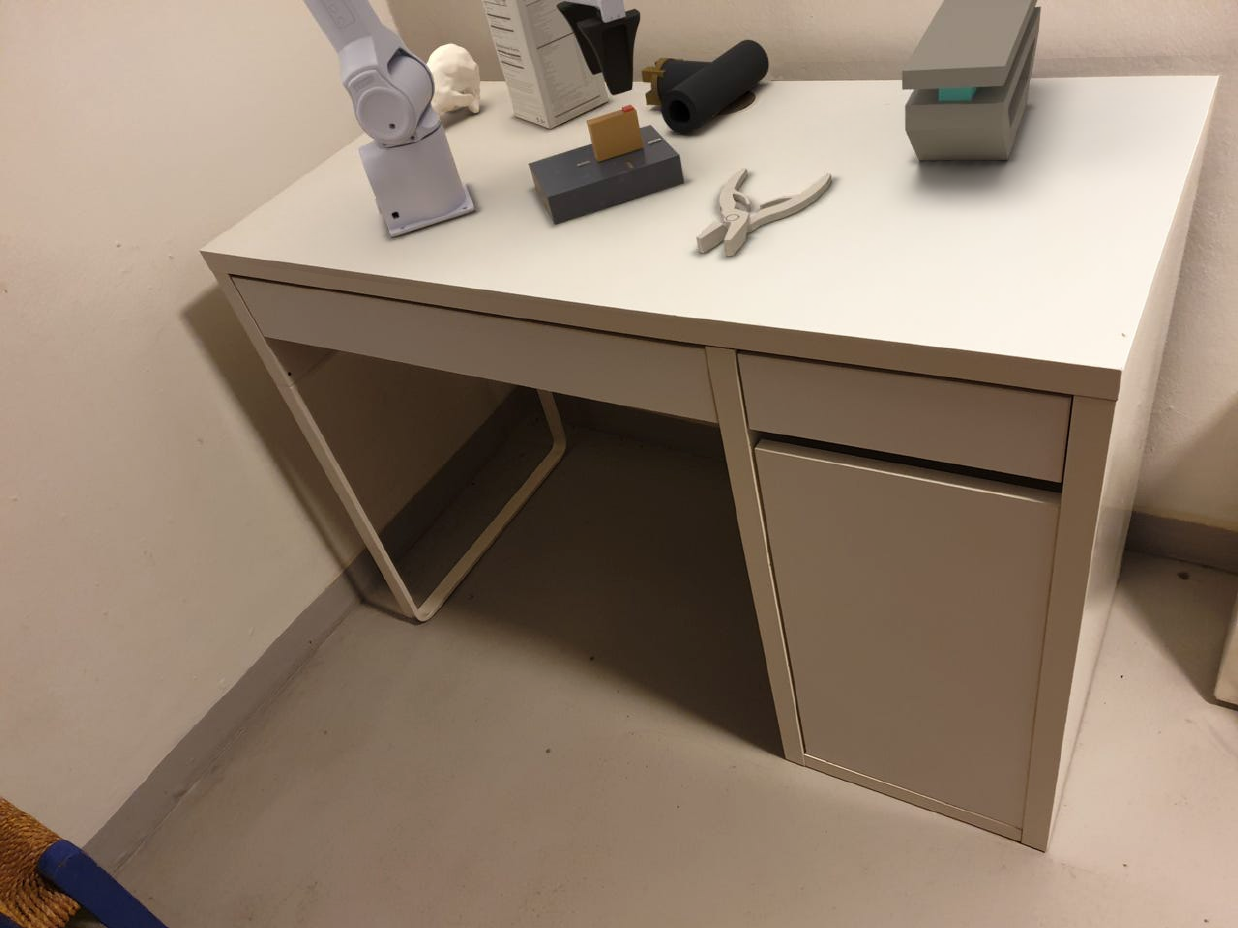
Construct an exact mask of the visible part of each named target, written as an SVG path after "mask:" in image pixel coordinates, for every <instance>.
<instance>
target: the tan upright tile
mask: <svg viewBox="0 0 1238 928" xmlns="http://www.w3.org/2000/svg"><path fill="white" fill-rule="evenodd" d="M637 111H638V110H637V109H636V108H635V107H634V106H633V105H632V104H627V105H624V106H621V109H618V110H615V111H613V112H609V113H605V114H602V115H600V116H597V117H592V118H590V119H587V120H586V124H587V130H588V133H589V137H590V141H591V144H592V146H593V151H594V155H595V158H596V159H597V161H598V162H600V161H603V160H607V159H610V158H613V157H616V156H619V155H622V154H625V153H629V152H632V151H635V150H638V149H641V148H643V142H642V136H641V131H640V128H641V125H640V122H639V121H640V120H639V117H638V112H637Z"/></svg>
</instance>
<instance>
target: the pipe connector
mask: <svg viewBox="0 0 1238 928" xmlns="http://www.w3.org/2000/svg"><path fill="white" fill-rule="evenodd" d="M768 57H769V56H768V54H767V51H766V50H765V49H764V47H763V46H762V45H761V44H760V43H759V42H758V41H755V40H753V39H744V40H741V41H739V42H738V43H737V44H735V45H734V46H733V47H731V48H729V49H728V50H726V51H725V52H724V53H722V54H721V55H719V56H718V57H716V58H715V59H714V60H712V61H702V60H701V61H700V60H685V59H683V58H672V57H661V58H658V59H657V60H656V61H654V66H647V67H645V68H644V69H642V70H641V78H642V83H645V84H647V83H648V84H650V90H648V91H647V92H645V93H644V95H645V101H646V105H648V106H656V107H657V106H658V107H660V112H661V117H662V119H663V121H664V123H665V125H667V127H668V128H669V129H670V130H671V131H672V132H674V133H675V134H678V135H682V136H687V135H690V134H692V133H693V132H695V131H696V130H698V128H700V127H701V126H703V125H704V124H705V123H707V122H708V121H709V120H710V119H712V118H713V117H715V116H716V115H717V114H718V113H720V112H721V111H723V110H724V109H725V108H726V107H728V106H730V104H732V103H733V102H735V100H737V99H739V98H740V97H741V96H742V95H744V94H745V93H746V92H748V91H749V90H750V89H752V88H754V86H756V85H757V84H758V83H760V82H761V81H762V80H763V79H764V78H766V76H767V74H768V73H769V67H770V65H769V64H770V62H769V58H768Z"/></svg>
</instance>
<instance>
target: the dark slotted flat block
mask: <svg viewBox="0 0 1238 928" xmlns="http://www.w3.org/2000/svg"><path fill="white" fill-rule="evenodd" d="M640 131H641V136H642V142H643V148H641V149H638V150H635V151H632V152H629V153H625V154H622V155H619V156H616V157H613V158H610V159H607V160H603V161H600V162H598V161H597V159H596V158H595V155H594V151H593V146H592V143H589V144H586V145H582V146H580V147H576V148H574V149H570V150H567V151H564V152H561V153H558V154H554V155H551V156H548V157H544V158H541V159H538V160H535V161H531V162H529V163H528V168H529V171H530V174H531V178H532V182H533V186H534V188H535V191H536V192H537V194H538V196H539V198H540V200H541V202H542V204H543V206H544V207H545V209H546V211H547V213H548V214H549V217H550V218H551V220H552V222H553V224H554V225H557V224H561V223H563V222H567V221H570V220H574V219H576V218H580V217H583V216H585V215H589V214H592V213H595V212H597V211H598V212H599V211H601V210H604V209H607V208H610V207H613V206H616V205H619V204H622V203H626V202H628V201H632V200H634V199H635V200H636V199H638V198H641V197H644V196H647V195H650V194H653V193H656V192H660V191H662V190H667V189H669V188H672V187H675V186H678V185H681V184H684V183H685V180H684V173H683V168H682V167H683V166H682V161H681V155H680V153H678V152H677V151H676V150H675V148H673V146H672V145H671V144H670V143H669V142H668V141H667V140H666V139H665V138H664V137H663V136H662V135H661V134H660V133H659V131H657V130H656V129H655V128H654V127H653V126H652V125H651V124H649V125H645V126H641V127H640Z"/></svg>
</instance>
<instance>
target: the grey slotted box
mask: <svg viewBox="0 0 1238 928" xmlns="http://www.w3.org/2000/svg"><path fill="white" fill-rule="evenodd" d="M1037 2H1038V0H943V1H942V3H941V5H940V6H939V8H938V10H937V11H936V12H935V14H934V16H933V18H932V19H931V21H930V23H929V25H928V27H927V28H926V30H925V32H924V33H923V35H922V37H921V39H920V40H919V41H918V43H917V45H916V47H915V49H914V50H913V52H912V53H911V55H910V57H909V58H908V60H907V62H906V63H905V65H904V67H903V69H902V71H901V77H902V78H901V90H902V91H904V90H909V91H910V90H912V92H911V94H910V96H909V97H908V99H907V101H906V103H905V105H904V130H905V133H906V135H907V137H908V140H909V142H910V144H911V146H912V148H913V151H914V153H915V155H916V157H917V160H918V161H1008V160H1009V158H1010V155H1011V152H1012V149H1013V146H1014V143H1015V141H1016V138H1017V134H1018V132H1019V130H1020V126H1021V124H1022V120H1023V119H1024V115H1025V112H1026V109H1027V105H1028V97H1029V93H1030V92H1029V91H1030V85H1031V79H1032V73H1033V67H1034V61H1035V56H1036V55H1035V54H1036V51H1037V49H1036V48H1037V44H1038V38H1039V33H1040V21H1041V10H1042V6H1036V5H1037Z"/></svg>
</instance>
